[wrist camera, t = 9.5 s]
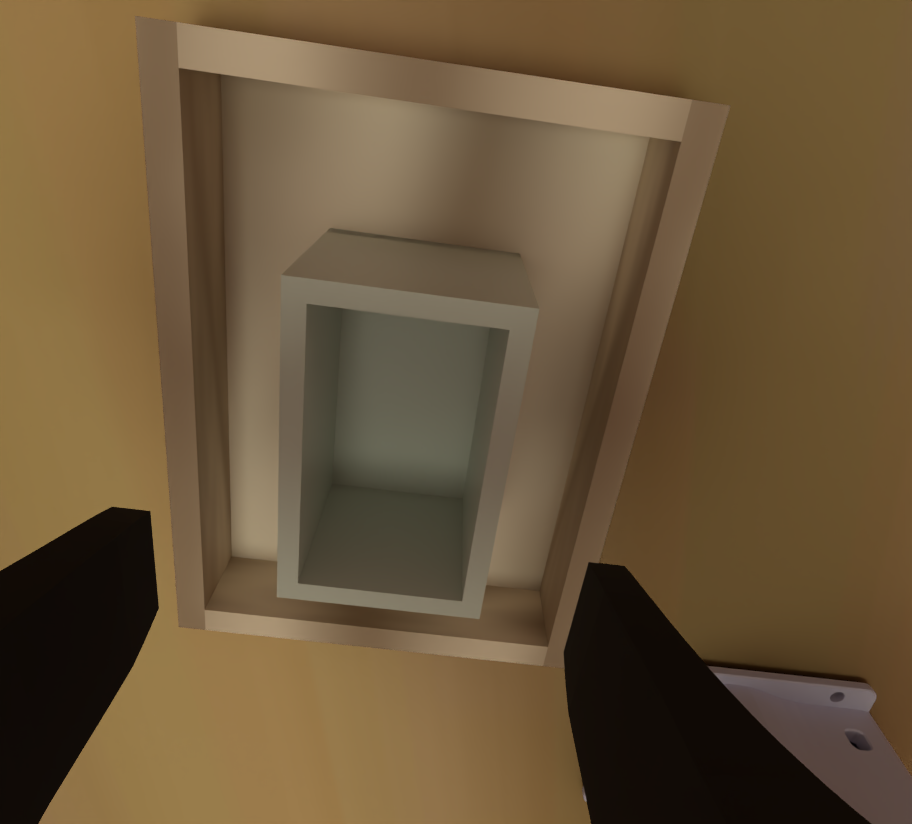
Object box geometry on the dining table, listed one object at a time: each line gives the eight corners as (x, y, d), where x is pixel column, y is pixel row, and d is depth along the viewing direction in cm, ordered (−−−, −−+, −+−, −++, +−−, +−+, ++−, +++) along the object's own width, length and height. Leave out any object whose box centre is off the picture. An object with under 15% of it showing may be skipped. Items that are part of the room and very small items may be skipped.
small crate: (519, 253, 17) (539, 309, 13) (476, 504, 21) (479, 619, 16) (329, 227, 17) (281, 275, 12) (318, 486, 20) (277, 597, 16)
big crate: (685, 104, 16) (730, 105, 13) (555, 601, 23) (568, 668, 20) (193, 30, 15) (135, 15, 13) (213, 563, 22) (179, 626, 20)
